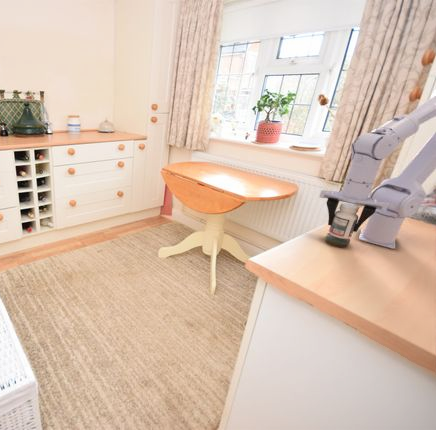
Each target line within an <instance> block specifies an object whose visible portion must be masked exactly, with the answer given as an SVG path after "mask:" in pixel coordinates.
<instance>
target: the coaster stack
mask: <svg viewBox="0 0 436 430" xmlns="http://www.w3.org/2000/svg"><path fill="white" fill-rule="evenodd" d="M324 242H325V243H326V244H328V245H330V246H332V247H335V248H340V249H348V247H349V246H350V243H351V238H349V239H343V238H338V237H335V236H333V235H331V234H330V233H329V232H328V233H326V235H325V237H324Z"/></svg>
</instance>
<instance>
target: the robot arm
mask: <svg viewBox="0 0 436 430" xmlns="http://www.w3.org/2000/svg"><path fill="white" fill-rule="evenodd" d="M433 118H436V89H435V90H434V91H433V93H432V95H431V97H430V98H429V99H427V100H426V101H424V103H422V104H420V105H419V106H417V108H415V109H413V111H411V112H409V114H396V115H395V116H393V117H392V119H390V120H389V121H387V122H386V123H384V124H383V125H381V126H380V127H378V128H376V129H374V130H372V131H371V132H365V133H362V134H360V135H359V136H357V137H356V138H355V139H354V141H353V143H352V142H351V145H350V151H351V157H350V161H351V163H350V166H349V169H348V171H347V174H346V178H345V179H344V180H345V181H344V184H343V186H342V188H341V191H335V190H327V189H321V191H320V194H319V198H321V199H327V200H326V208H327V213H328V223H327V225H328V226H331V224H332V221H333V218H334V215H335V212H337V209H338V205H339V203H340V202H343V203H346V204H352V205H355V206H362V207H363V208H362V211H361V213H360V215H359V217H358V221H357V223H356V226H355V228H354V231H353V233H357V232H358V231H359V229H360V227H361V226H362V225H363V224H364V223H365V222H366V223H365V226H364V228H362V229H361V230H360V233H359V237H358V240H359V241H362V242H366V243H369V244H372V245H373V244H374V245H377V246H381V247H384V248H387V249H393V250H395V249H396V239H397V236H398V234H399V232H400V229H401V228H402V225H403V223H404V221H405V219H406V218H409V217H411V216H413V215H415V214H416V213H417V212H418V211H419V210H420V209H421V207H422V204H423V202H424V201H425V200H426V198H427V192H426V190H425V189H424V187H423V186H422V185H423V184H424V183H425V182H426V181H427V179H428V178H430V176H431V175H432V174H433V173H434V172H435V170H436V131H435V132H434V133H433V134H432V136H431V137H430V138H429V139H428V140H427V142H426V143H425V144H424V145H423V146H422V147H421V149H420V150H419V151H418V152H417V154H416V155H415V156H414V157H413V158H412V160H410V162H409V163H408V164H407V165H406V167H405V168H404V169H403V170H402V171H401V172H400V174H399V175H398V176H394V177H390V178H387V179H384V180H383V181H382V182H381V183H380V184H379V185H378V186H376V187H375V188H374V189H372V187H373V185H374V182H375V180H376V178H377V175H378V172H379V169H380V167H381V165H382V162H383V159H386V158H388V157H389V156H391V155H392V153H393V152H394V150H395V149H396V148H397V147H398V146H399V144H401V143H402V142H403V141H405V140H406V139H408V138H410V137H411V136H413V135H414V134H416V133H418V131H419V130H420V129H419V128H420V125H422V124H425V123H426V122H428V121H430V120H431V119H433Z"/></svg>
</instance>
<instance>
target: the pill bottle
mask: <svg viewBox="0 0 436 430" xmlns="http://www.w3.org/2000/svg"><path fill="white" fill-rule="evenodd" d="M359 209H360V207H359V205H356V204H352V203H347V202H343V203H341V204H340V206H339V210H336V211H335V215H334V218H333V221H332V224H331V225H329V230H328V233H330V234H331V235H333V236H335V237H338V238H343V239H349V238H350V239H351V238H352V236H353V234H354V228H355V226H356V224H357V222H358V220H359V215H358V214H357V213H358V212H359Z"/></svg>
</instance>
